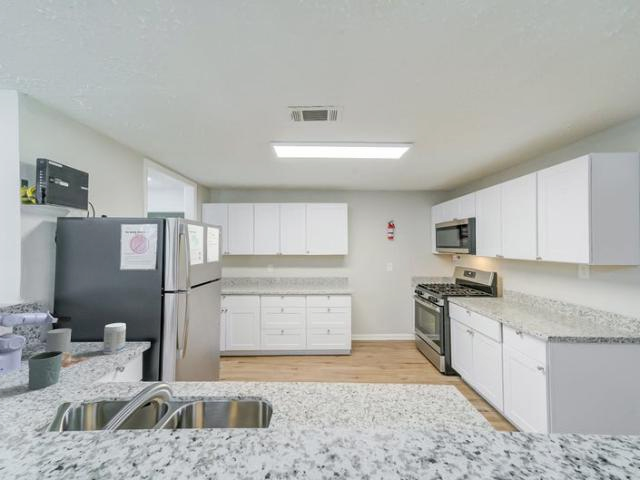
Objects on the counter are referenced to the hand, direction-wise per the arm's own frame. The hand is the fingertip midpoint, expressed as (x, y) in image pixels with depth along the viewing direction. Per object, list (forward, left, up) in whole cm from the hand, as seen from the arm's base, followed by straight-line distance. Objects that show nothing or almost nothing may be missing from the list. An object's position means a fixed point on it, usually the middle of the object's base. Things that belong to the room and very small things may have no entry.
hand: (66, 318), depth 144 cm
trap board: (-6, -12, -19) cm, 23 cm away
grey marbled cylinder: (0, +4, -19) cm, 20 cm away
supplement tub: (+10, -20, -19) cm, 30 cm away
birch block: (-10, -12, -19) cm, 24 cm away
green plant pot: (-28, -27, -19) cm, 43 cm away
